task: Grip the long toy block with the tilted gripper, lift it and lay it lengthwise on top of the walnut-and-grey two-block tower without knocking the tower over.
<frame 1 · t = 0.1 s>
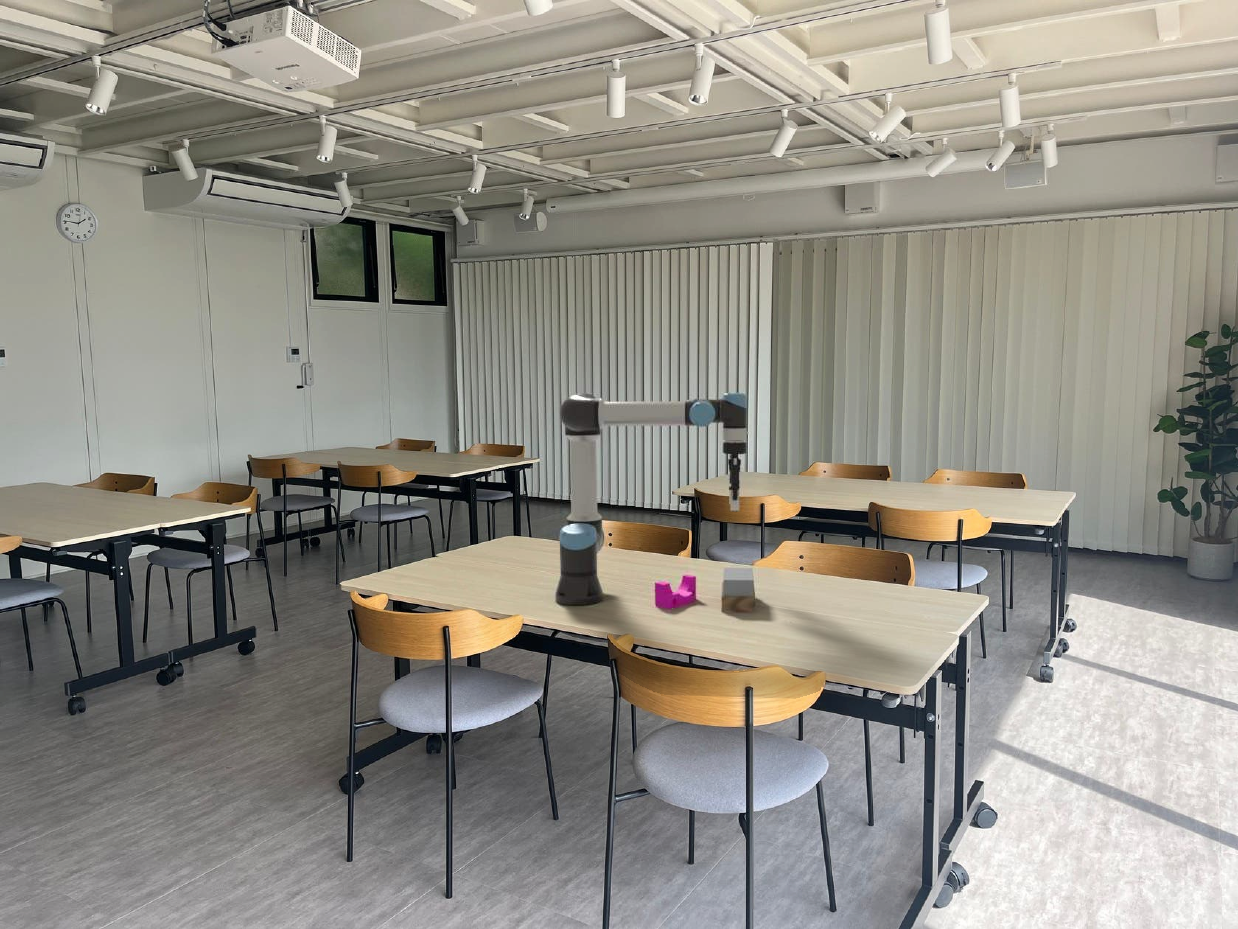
hand: (734, 507, 294), 28 cm above the table, tool pointing down, fingers open, 13 cm apart
tower top: (738, 589, 282), point 5 cm above the table, touching tower base
tower base: (738, 605, 282), on the table, touching tower top
toy block: (678, 604, 285), on the table
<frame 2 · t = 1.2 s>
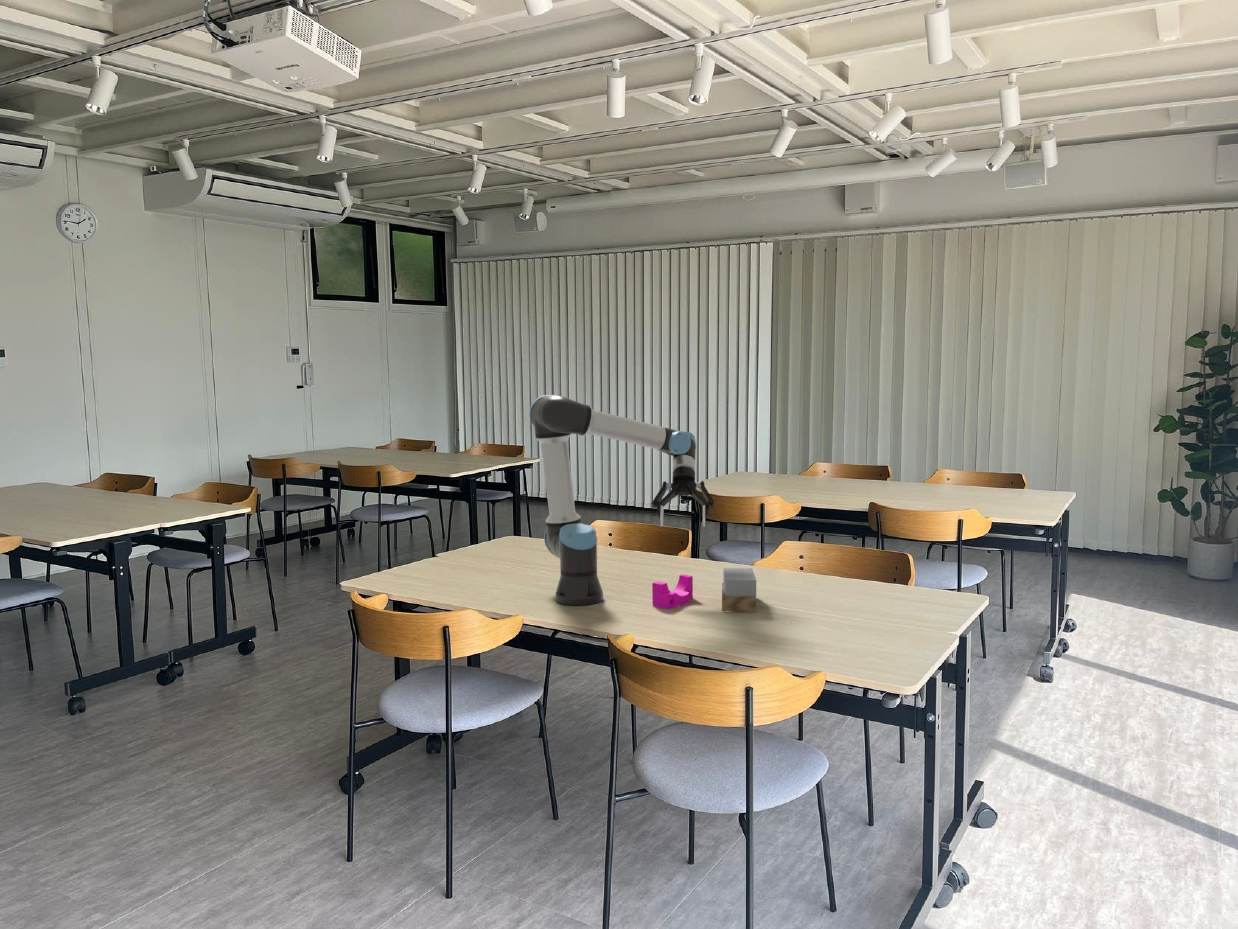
hand: (682, 524, 293), 23 cm above the table, tool tilted 45°, fingers open, 13 cm apart
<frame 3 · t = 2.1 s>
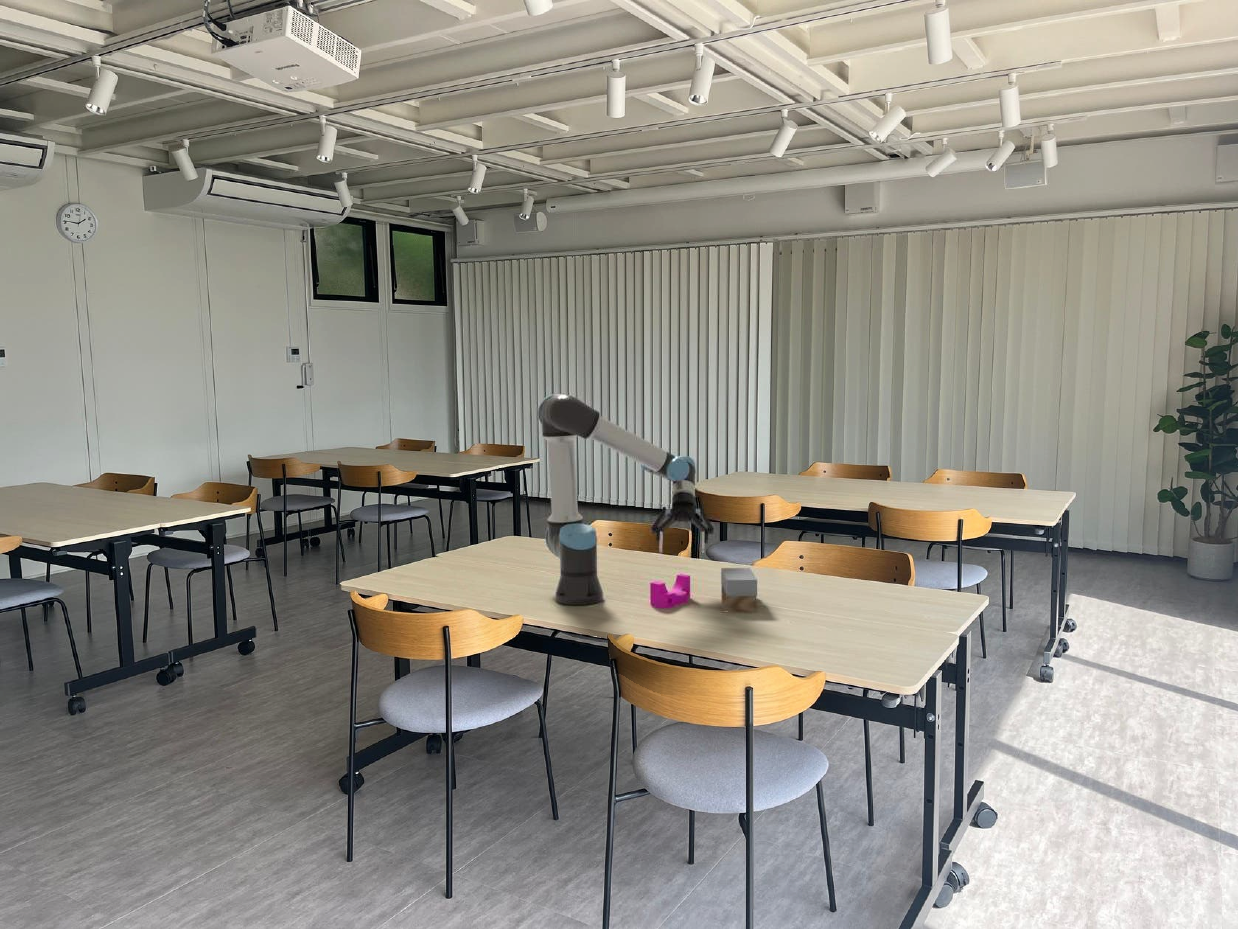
hand: (681, 550, 293), 14 cm above the table, tool tilted 45°, fingers open, 13 cm apart
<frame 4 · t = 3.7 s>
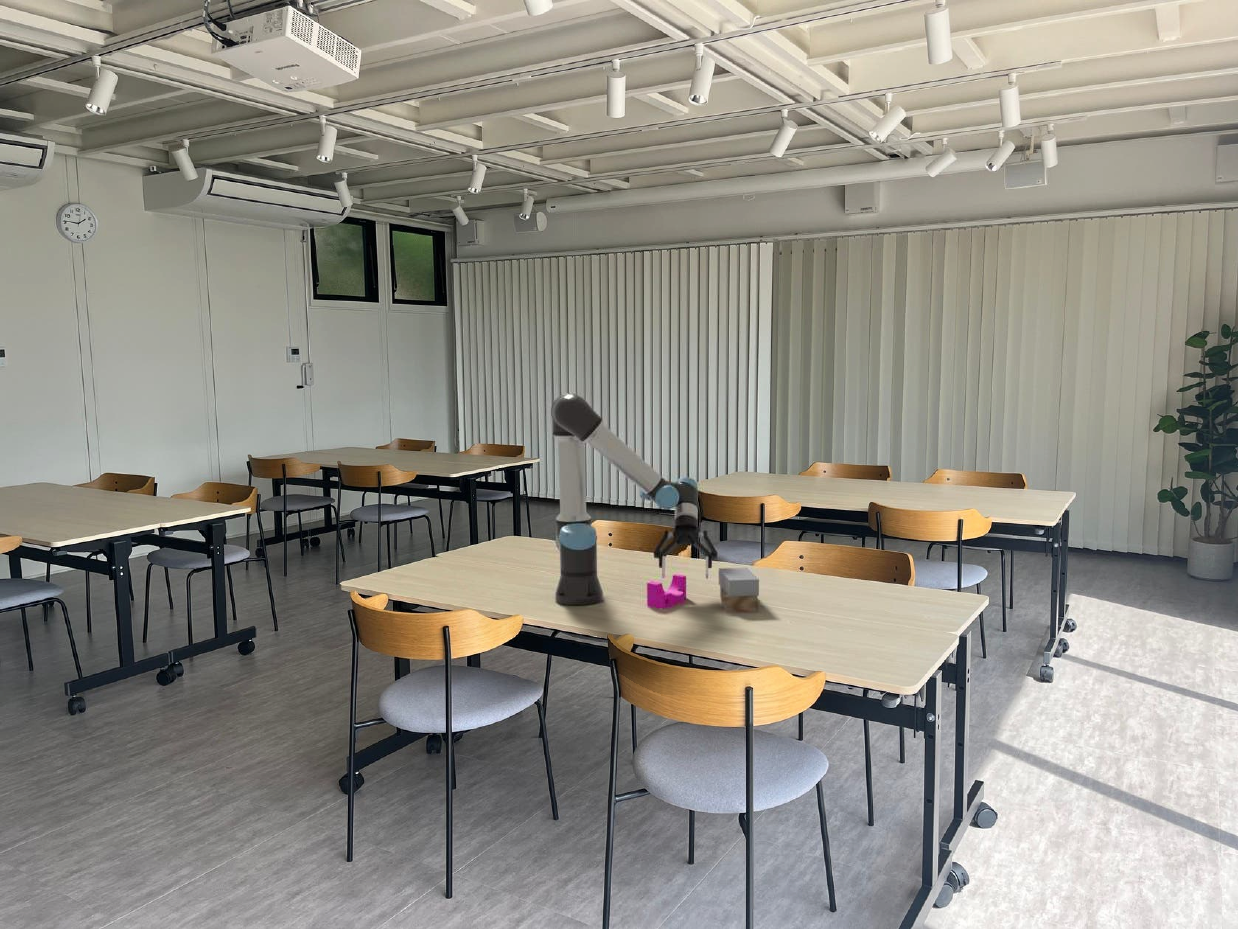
hand: (685, 576, 286), 8 cm above the table, tool tilted 45°, fingers open, 13 cm apart
toy block: (670, 604, 285), on the table, touching gripper
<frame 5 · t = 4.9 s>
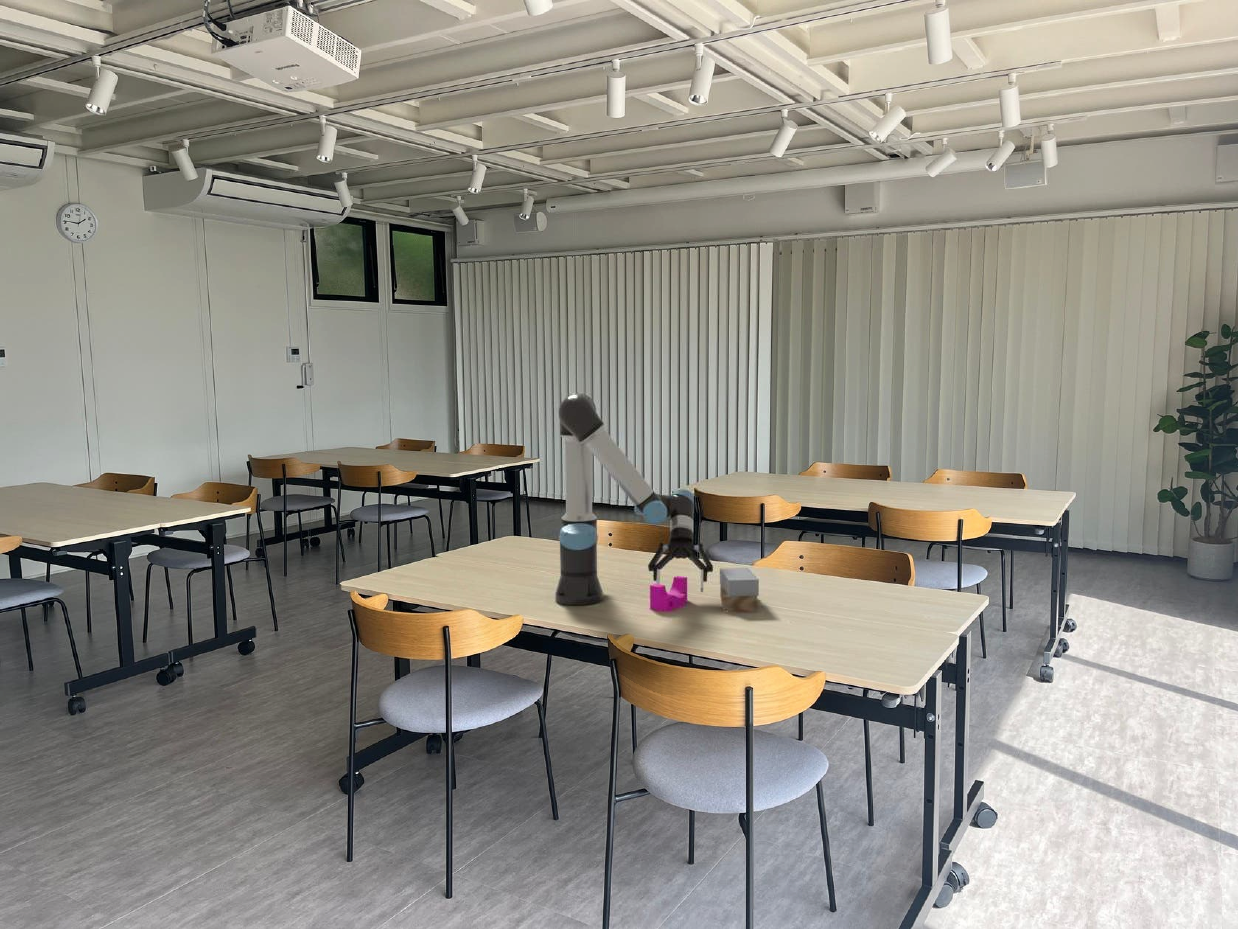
hand: (679, 589, 282), 5 cm above the table, tool tilted 45°, fingers open, 13 cm apart
tower top: (738, 589, 282), point 5 cm above the table
tower base: (738, 605, 282), on the table
toy block: (672, 606, 282), on the table, touching gripper
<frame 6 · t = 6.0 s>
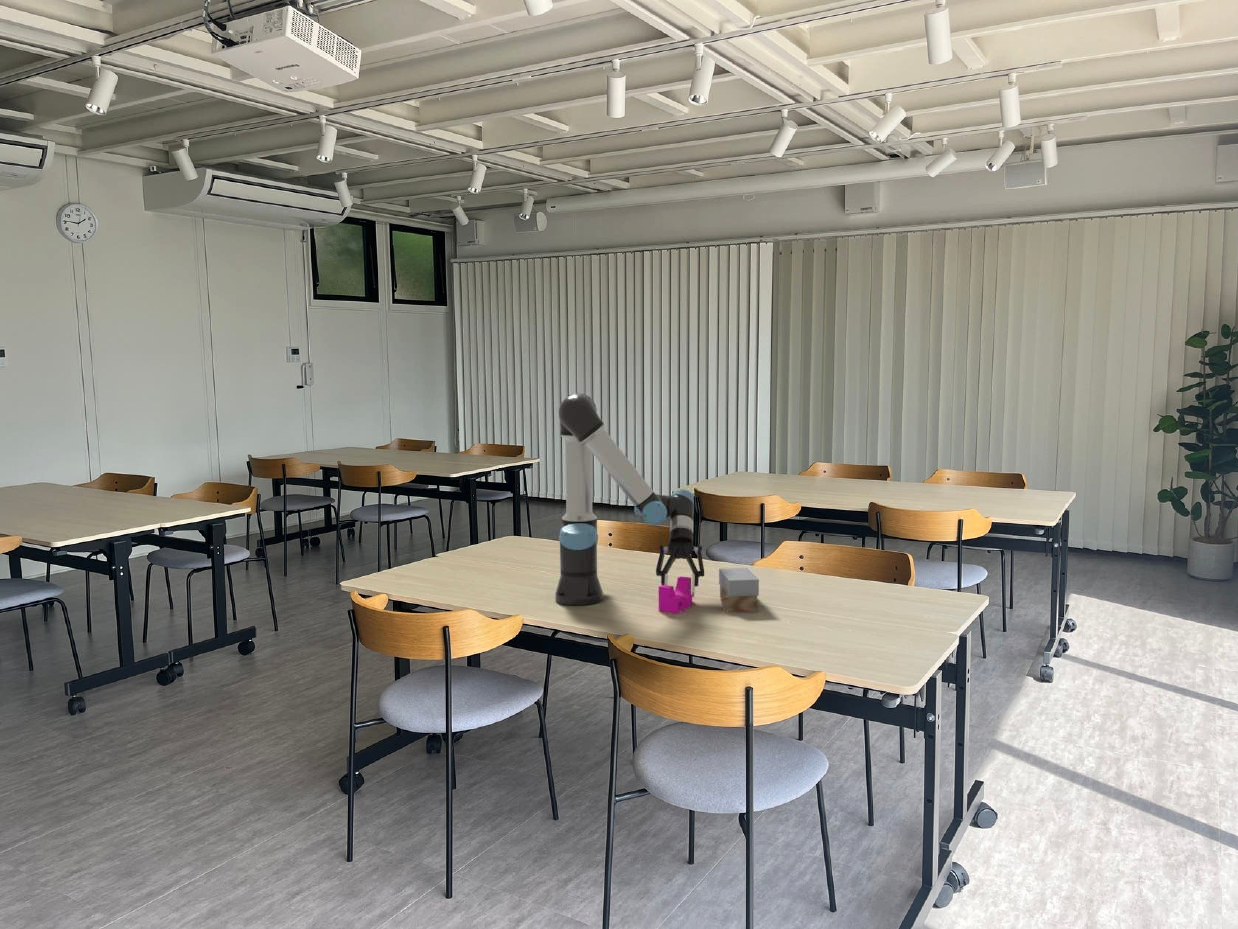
hand: (679, 594, 281), 4 cm above the table, tool tilted 45°, fingers closed on toy block, 8 cm apart
tower top: (738, 589, 282), point 4 cm above the table, touching tower base
tower base: (737, 605, 282), on the table, touching tower top
toy block: (678, 607, 281), on the table, touching gripper
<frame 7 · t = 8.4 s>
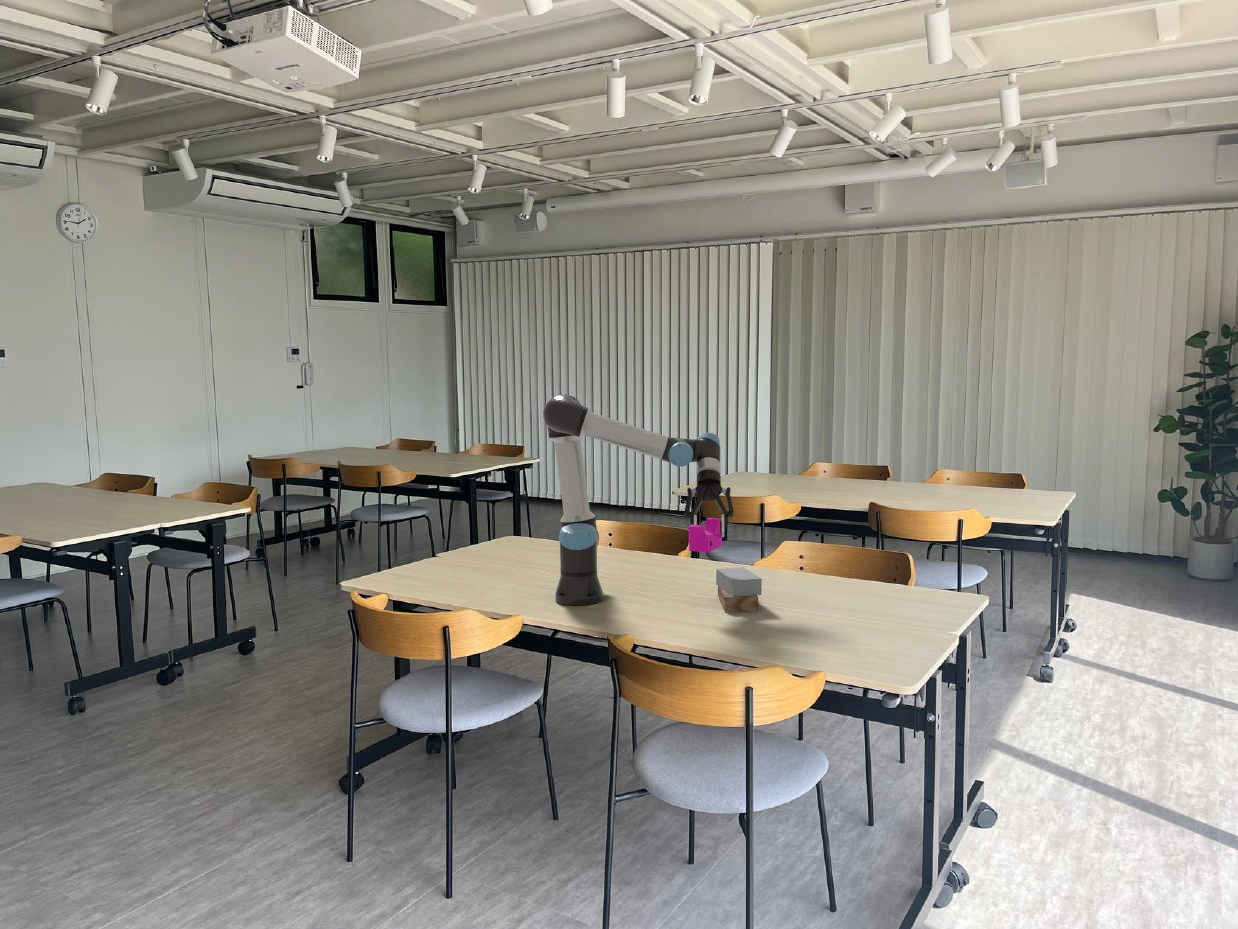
hand: (709, 534, 278), 22 cm above the table, tool tilted 45°, fingers closed on toy block, 8 cm apart
tower top: (738, 589, 282), point 5 cm above the table
tower base: (737, 605, 282), on the table
toy block: (708, 547, 278), point 18 cm above the table, touching gripper
when the fingers open (15 cm above the table, at t = 10.7 s): toy block drops 2 cm, resting on tower top.
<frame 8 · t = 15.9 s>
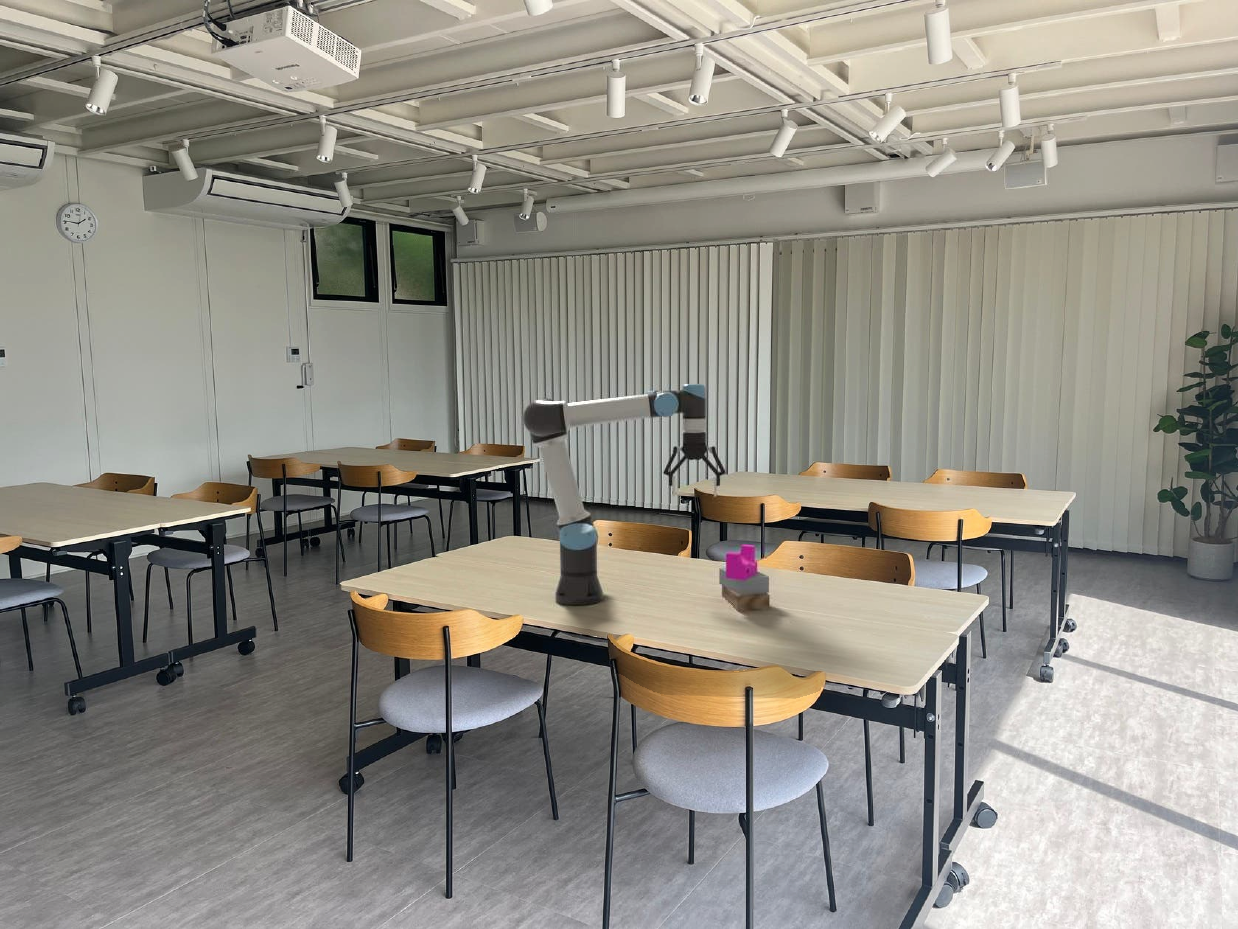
hand: (694, 496, 300), 31 cm above the table, tool pointing down, fingers open, 13 cm apart
tower top: (743, 588, 284), point 4 cm above the table, touching tower base, toy block
tower base: (745, 604, 284), on the table, touching tower top
toy block: (744, 574, 282), point 9 cm above the table, touching tower top
at the end: toy block inside the target area on the tower base (1.2 cm from its centre), point 9.8 cm above the tower base's base; tower top tilted 0°; tower top 1.0 cm from the tower base (horizontally) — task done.
